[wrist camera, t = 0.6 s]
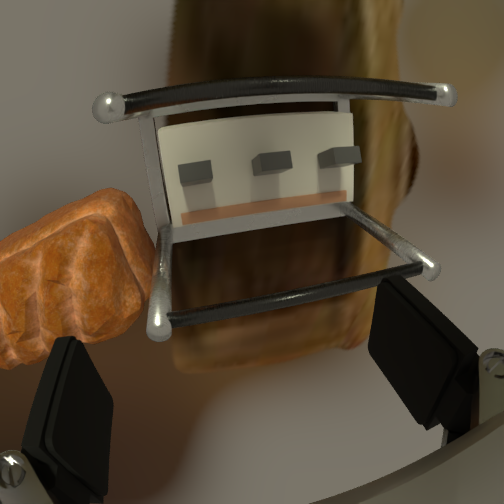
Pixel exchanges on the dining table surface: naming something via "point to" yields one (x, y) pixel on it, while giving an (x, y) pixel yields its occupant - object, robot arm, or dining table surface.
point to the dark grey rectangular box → (271, 163)
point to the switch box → (240, 165)
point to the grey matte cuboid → (339, 157)
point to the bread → (73, 276)
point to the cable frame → (260, 92)
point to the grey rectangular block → (195, 173)
